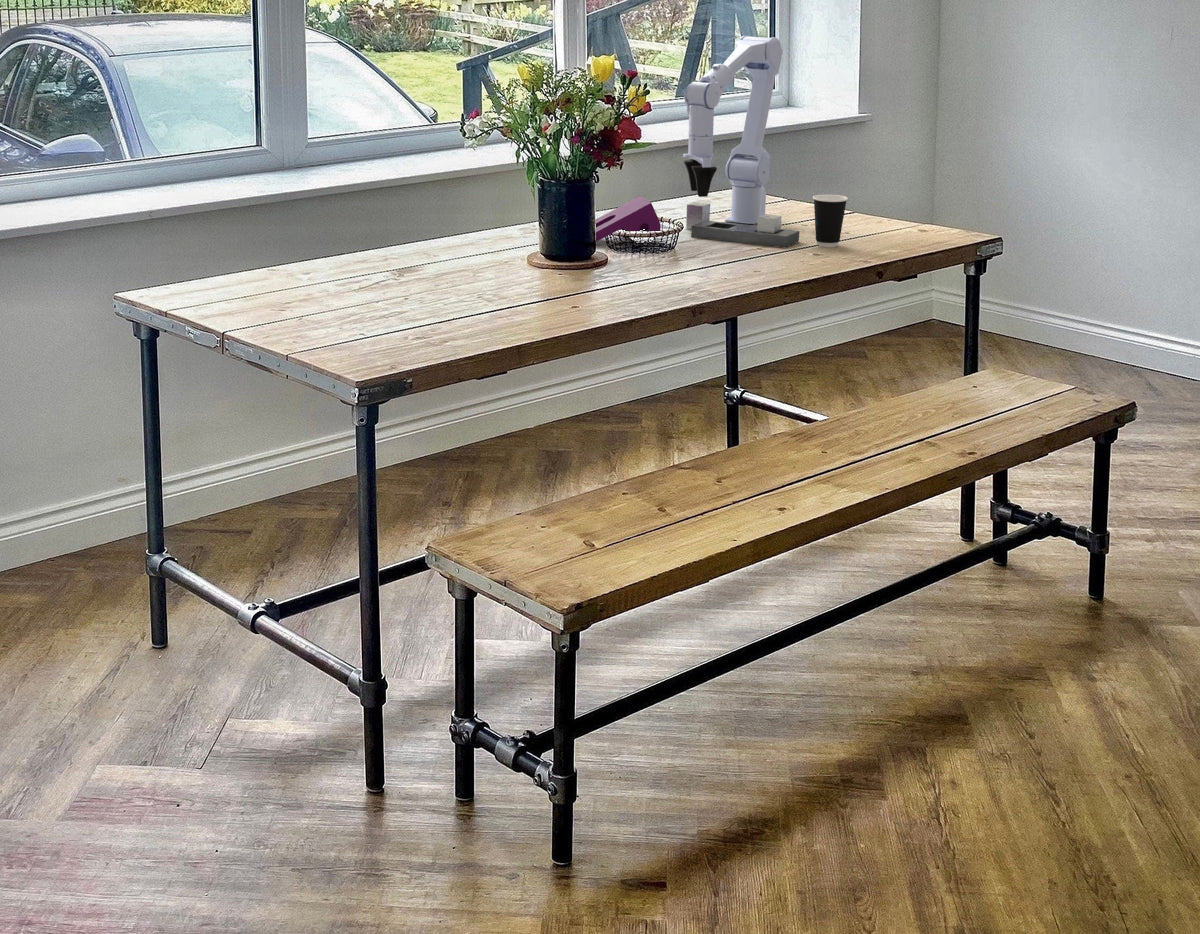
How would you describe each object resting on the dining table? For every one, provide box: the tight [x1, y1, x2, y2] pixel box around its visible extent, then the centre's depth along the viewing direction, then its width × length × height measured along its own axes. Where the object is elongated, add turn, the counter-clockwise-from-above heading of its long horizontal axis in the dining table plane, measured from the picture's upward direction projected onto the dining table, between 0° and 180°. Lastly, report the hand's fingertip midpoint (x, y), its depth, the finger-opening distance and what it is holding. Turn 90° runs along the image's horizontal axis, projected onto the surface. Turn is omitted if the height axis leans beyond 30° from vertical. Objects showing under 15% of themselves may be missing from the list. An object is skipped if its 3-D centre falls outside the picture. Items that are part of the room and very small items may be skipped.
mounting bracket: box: [594, 195, 662, 242], centre depth 333 cm, size 10×8×18 cm
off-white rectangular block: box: [756, 213, 782, 234], centre depth 332 cm, size 4×4×6 cm
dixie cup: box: [812, 194, 849, 248], centre depth 329 cm, size 8×8×11 cm
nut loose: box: [685, 201, 711, 231], centre depth 347 cm, size 4×4×6 cm
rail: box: [690, 220, 800, 248], centre depth 336 cm, size 8×24×3 cm, turn 61°
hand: (699, 193), depth 338 cm, fingers open, 7 cm apart
